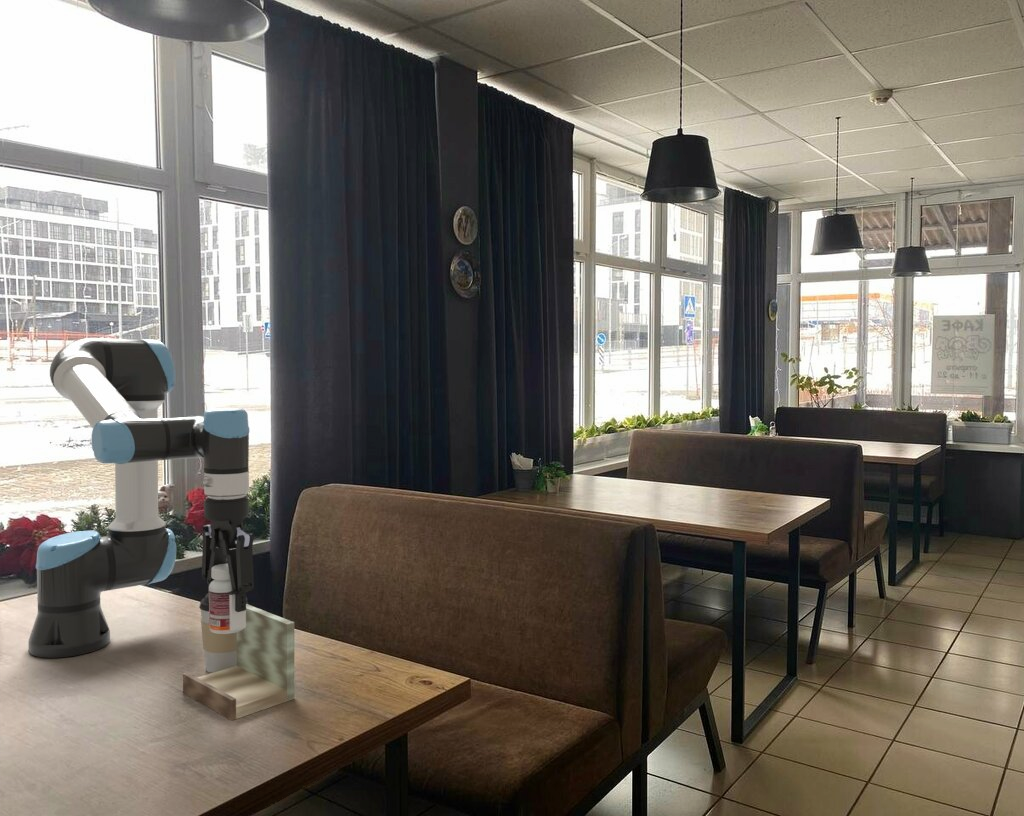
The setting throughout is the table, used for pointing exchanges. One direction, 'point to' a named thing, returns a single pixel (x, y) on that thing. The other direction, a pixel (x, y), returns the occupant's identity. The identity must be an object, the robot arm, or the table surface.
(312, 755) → the table surface
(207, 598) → the coffee cup
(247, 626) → the wooden l-shaped piece
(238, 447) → the robot arm
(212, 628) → the pill bottle
